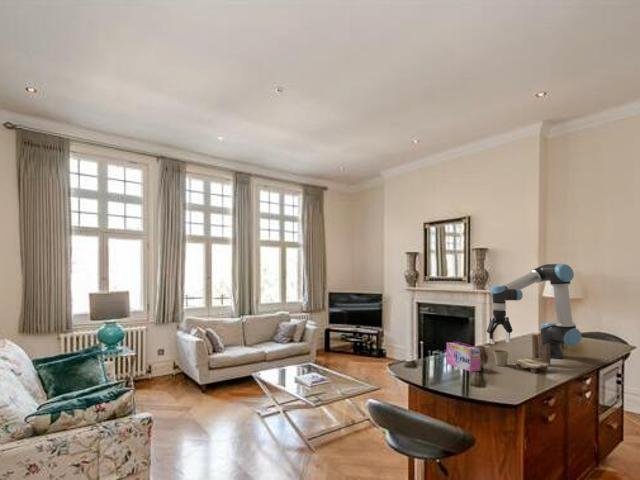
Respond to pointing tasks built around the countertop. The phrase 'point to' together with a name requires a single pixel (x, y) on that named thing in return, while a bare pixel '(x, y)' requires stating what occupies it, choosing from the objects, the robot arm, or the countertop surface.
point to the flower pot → (501, 357)
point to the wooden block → (544, 350)
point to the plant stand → (531, 364)
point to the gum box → (464, 356)
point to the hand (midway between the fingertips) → (500, 343)
